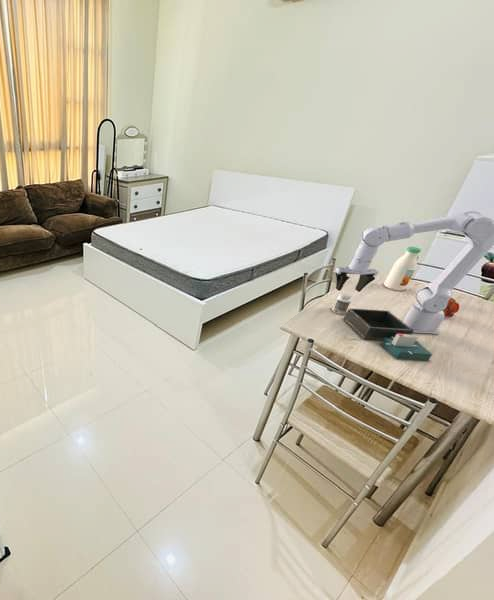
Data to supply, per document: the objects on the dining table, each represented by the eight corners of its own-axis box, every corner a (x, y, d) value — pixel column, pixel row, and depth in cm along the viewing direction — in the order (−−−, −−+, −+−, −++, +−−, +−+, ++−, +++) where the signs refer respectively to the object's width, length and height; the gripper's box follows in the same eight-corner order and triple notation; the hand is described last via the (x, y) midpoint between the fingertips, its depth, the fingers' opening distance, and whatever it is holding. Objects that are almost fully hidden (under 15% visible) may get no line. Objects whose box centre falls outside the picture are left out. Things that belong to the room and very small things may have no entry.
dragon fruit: (432, 322, 130) (434, 315, 138) (463, 318, 124) (463, 311, 131) (424, 302, 131) (427, 297, 138) (455, 297, 124) (456, 292, 132)
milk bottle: (389, 290, 151) (410, 250, 141) (380, 283, 158) (399, 244, 148) (408, 291, 150) (430, 251, 140) (397, 284, 157) (418, 245, 146)
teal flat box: (408, 344, 115) (413, 337, 113) (429, 362, 106) (435, 355, 105) (373, 342, 116) (377, 335, 114) (391, 359, 108) (396, 352, 106)
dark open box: (382, 321, 128) (388, 310, 125) (406, 342, 116) (414, 330, 113) (343, 319, 129) (348, 308, 126) (363, 339, 117) (370, 327, 115)
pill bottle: (347, 315, 132) (355, 297, 128) (334, 313, 133) (342, 296, 128) (342, 309, 136) (349, 292, 132) (329, 308, 137) (337, 290, 132)
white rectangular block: (408, 344, 110) (414, 334, 108) (411, 346, 109) (418, 336, 107) (391, 342, 111) (397, 333, 109) (394, 345, 109) (400, 335, 107)
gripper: (375, 256, 125) (360, 286, 132) (337, 254, 126) (323, 284, 133) (388, 263, 119) (371, 294, 126) (347, 261, 120) (333, 292, 127)
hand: (347, 290), depth 129 cm, fingers open, 7 cm apart
